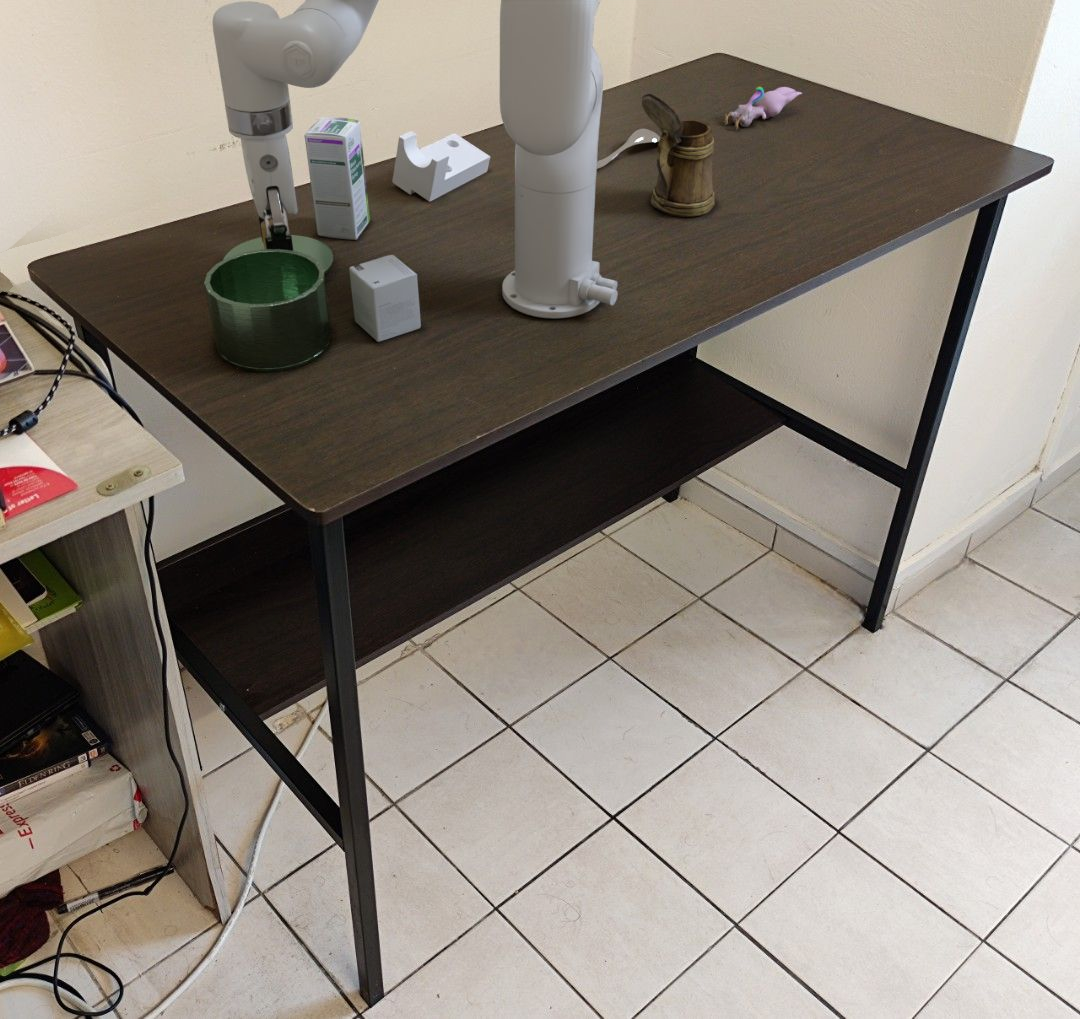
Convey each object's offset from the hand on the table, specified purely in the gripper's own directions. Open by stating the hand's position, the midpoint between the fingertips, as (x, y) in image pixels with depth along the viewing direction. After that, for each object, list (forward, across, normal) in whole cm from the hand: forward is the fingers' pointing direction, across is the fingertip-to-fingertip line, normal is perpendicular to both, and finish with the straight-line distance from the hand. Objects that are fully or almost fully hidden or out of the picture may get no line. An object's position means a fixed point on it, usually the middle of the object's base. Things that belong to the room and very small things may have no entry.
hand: (278, 252), depth 151 cm
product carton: (+2, -18, -10) cm, 20 cm away
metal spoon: (+2, +20, -53) cm, 57 cm away
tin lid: (+2, 0, 0) cm, 2 cm away
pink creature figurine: (+2, +30, -82) cm, 88 cm away
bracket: (+2, +20, -26) cm, 33 cm away
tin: (+2, -18, +3) cm, 18 cm away
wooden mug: (+2, +3, -55) cm, 56 cm away
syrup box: (+2, +9, -10) cm, 13 cm away
